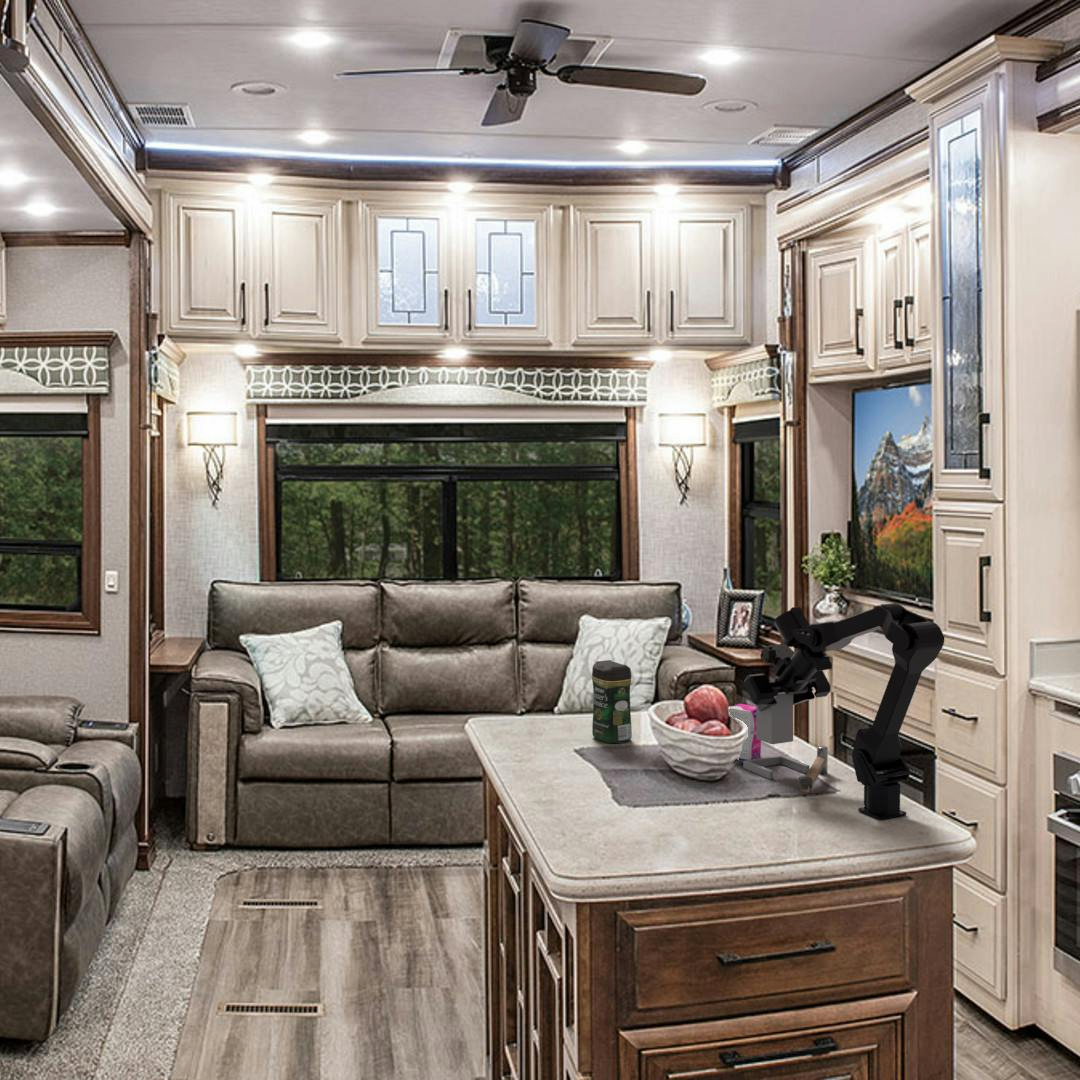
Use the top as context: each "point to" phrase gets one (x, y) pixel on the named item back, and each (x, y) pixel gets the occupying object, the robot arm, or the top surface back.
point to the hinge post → (823, 752)
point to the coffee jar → (611, 702)
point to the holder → (757, 764)
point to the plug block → (776, 721)
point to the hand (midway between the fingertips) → (770, 708)
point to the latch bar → (811, 774)
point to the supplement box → (751, 744)
